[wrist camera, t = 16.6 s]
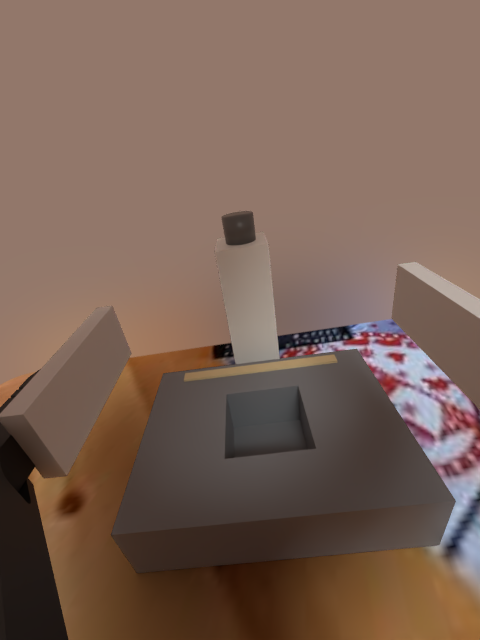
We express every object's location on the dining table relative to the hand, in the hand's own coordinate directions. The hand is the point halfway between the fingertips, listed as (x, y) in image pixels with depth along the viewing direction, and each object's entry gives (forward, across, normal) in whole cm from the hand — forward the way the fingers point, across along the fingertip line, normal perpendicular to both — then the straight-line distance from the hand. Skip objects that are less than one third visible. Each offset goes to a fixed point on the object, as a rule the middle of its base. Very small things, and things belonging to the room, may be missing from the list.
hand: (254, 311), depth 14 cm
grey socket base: (+1, 0, -12) cm, 12 cm away
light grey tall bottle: (+11, 0, -12) cm, 17 cm away
